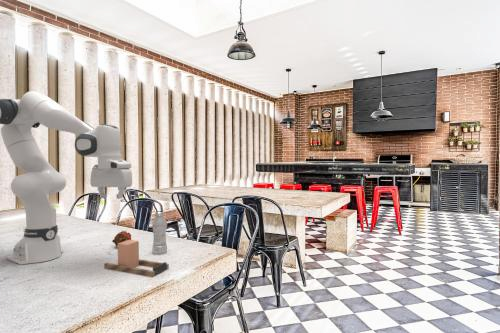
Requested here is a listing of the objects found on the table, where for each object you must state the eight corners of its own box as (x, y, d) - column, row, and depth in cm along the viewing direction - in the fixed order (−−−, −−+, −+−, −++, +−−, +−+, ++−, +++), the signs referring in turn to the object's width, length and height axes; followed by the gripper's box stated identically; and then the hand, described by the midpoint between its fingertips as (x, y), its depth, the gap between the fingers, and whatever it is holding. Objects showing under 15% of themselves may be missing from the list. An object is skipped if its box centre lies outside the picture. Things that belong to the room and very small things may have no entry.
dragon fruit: (124, 253, 145) (119, 250, 155) (138, 240, 149) (132, 238, 159) (112, 240, 143) (108, 238, 152) (126, 228, 147) (121, 227, 157)
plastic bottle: (151, 253, 138) (151, 211, 138) (166, 251, 141) (165, 210, 141) (152, 257, 132) (152, 213, 132) (168, 255, 135) (167, 212, 135)
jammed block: (117, 268, 116) (117, 243, 116) (129, 263, 122) (129, 239, 121) (127, 270, 114) (127, 244, 114) (139, 265, 120) (138, 240, 119)
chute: (104, 271, 117) (104, 261, 117) (122, 263, 125) (122, 254, 125) (152, 280, 107) (152, 269, 107) (168, 271, 116) (168, 261, 116)
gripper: (85, 164, 121) (86, 198, 121) (121, 163, 113) (123, 200, 113) (99, 164, 127) (100, 196, 127) (134, 163, 118) (135, 197, 119)
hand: (111, 198), depth 120 cm, fingers open, 8 cm apart
